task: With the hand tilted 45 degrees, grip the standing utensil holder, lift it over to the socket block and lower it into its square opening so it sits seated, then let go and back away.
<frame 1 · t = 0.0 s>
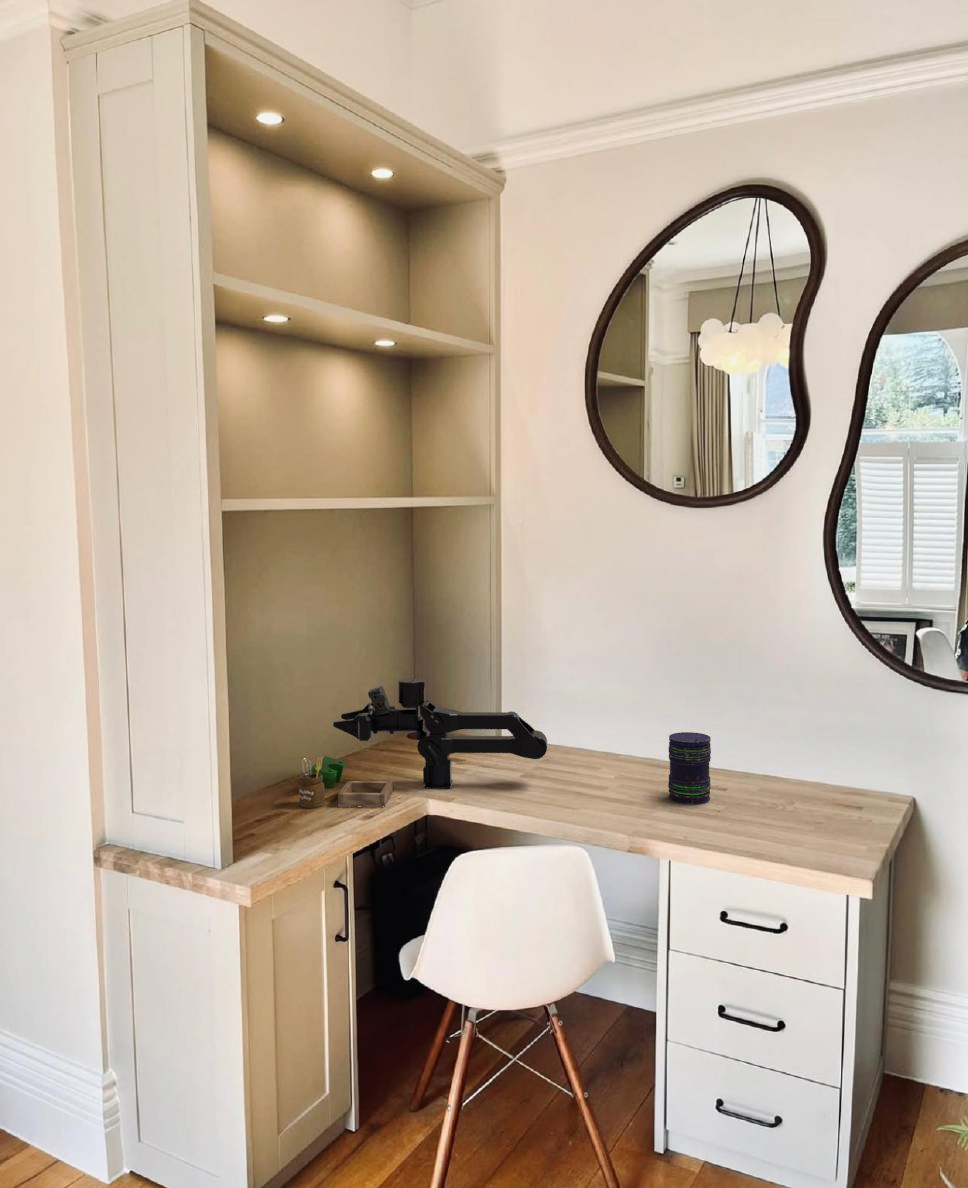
hand: (337, 720, 252), 17 cm above the table, tool horizontal, fingers open, 9 cm apart
socket block: (366, 801, 240), on the table
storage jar: (689, 799, 238), on the table
utensil holder: (312, 805, 237), on the table
clamp: (327, 785, 254), on the table
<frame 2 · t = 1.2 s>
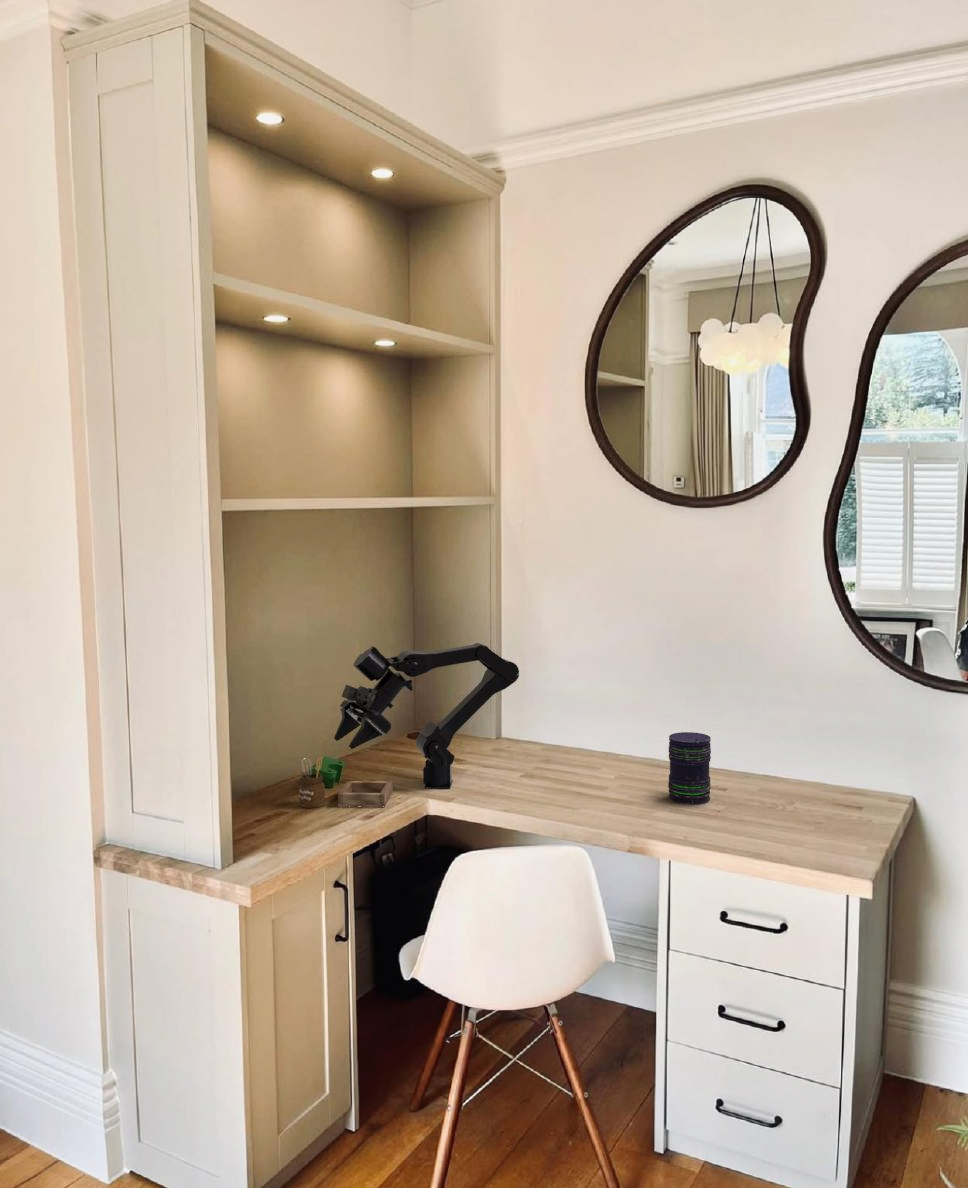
hand: (342, 743, 240), 14 cm above the table, tool tilted 45°, fingers open, 9 cm apart
nothing on the table moved.
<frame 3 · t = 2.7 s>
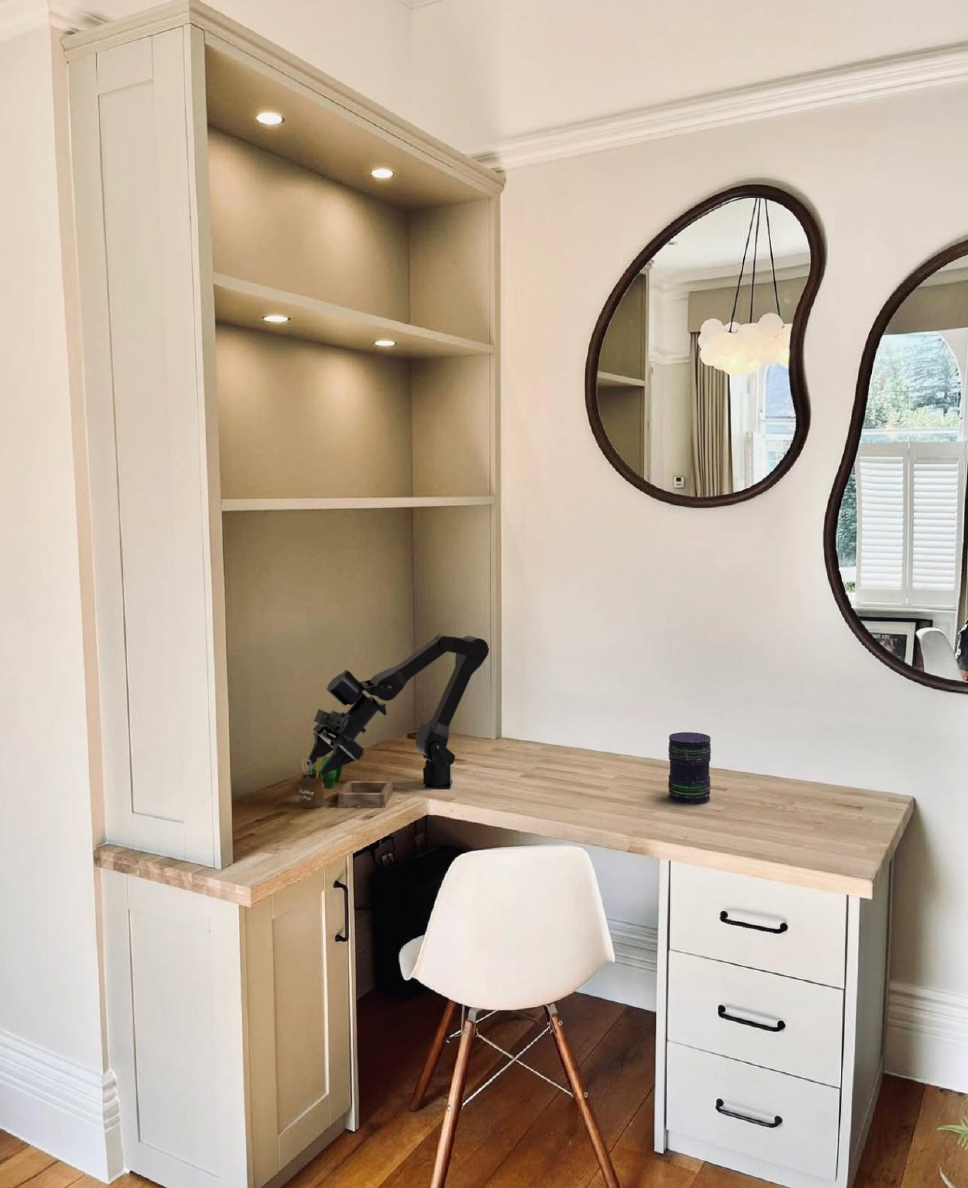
hand: (314, 769, 236), 9 cm above the table, tool tilted 45°, fingers open, 9 cm apart
nothing on the table moved.
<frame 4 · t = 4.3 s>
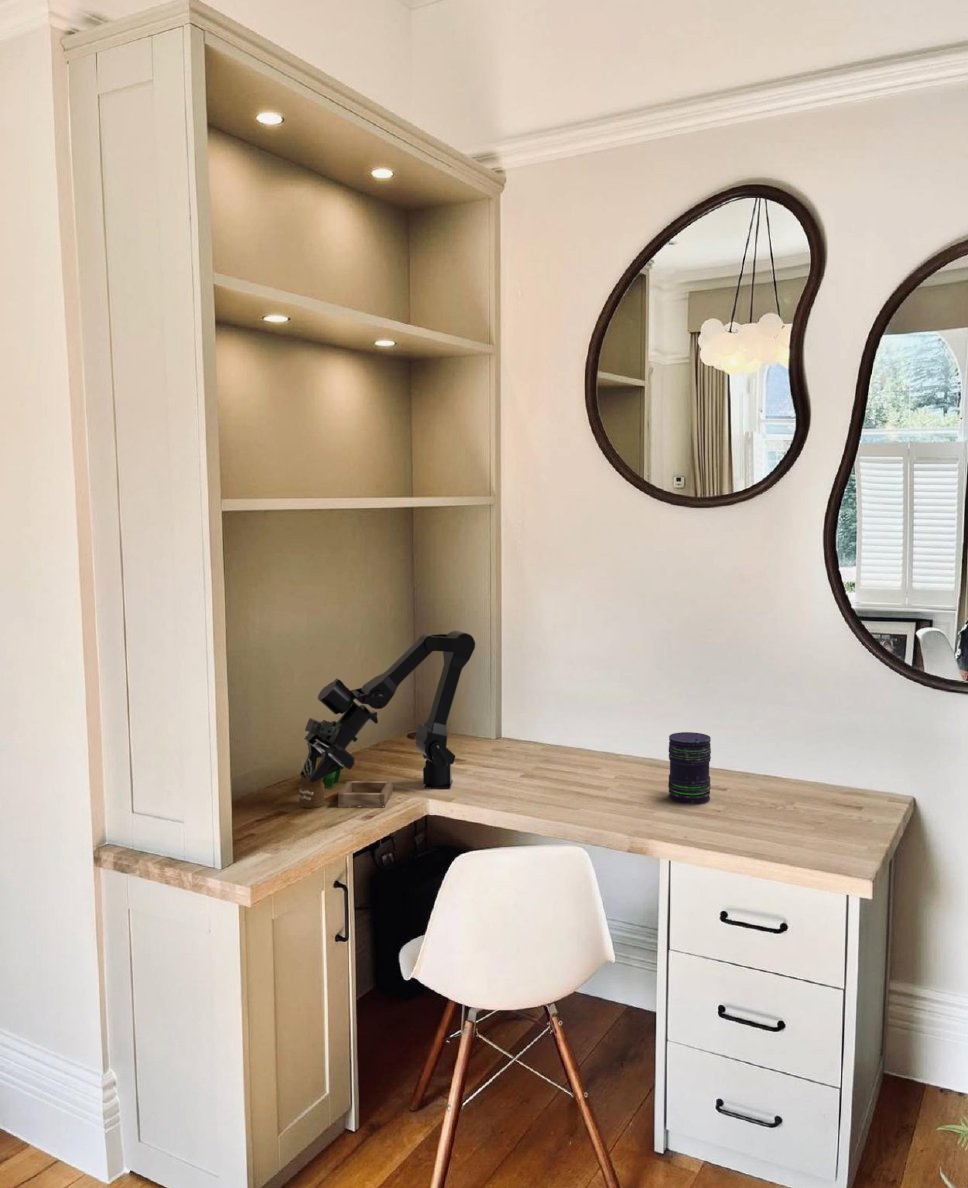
hand: (306, 778, 236), 7 cm above the table, tool tilted 45°, fingers closed on utensil holder, 5 cm apart
utensil holder: (312, 805, 237), on the table, touching gripper
everything else where it was.
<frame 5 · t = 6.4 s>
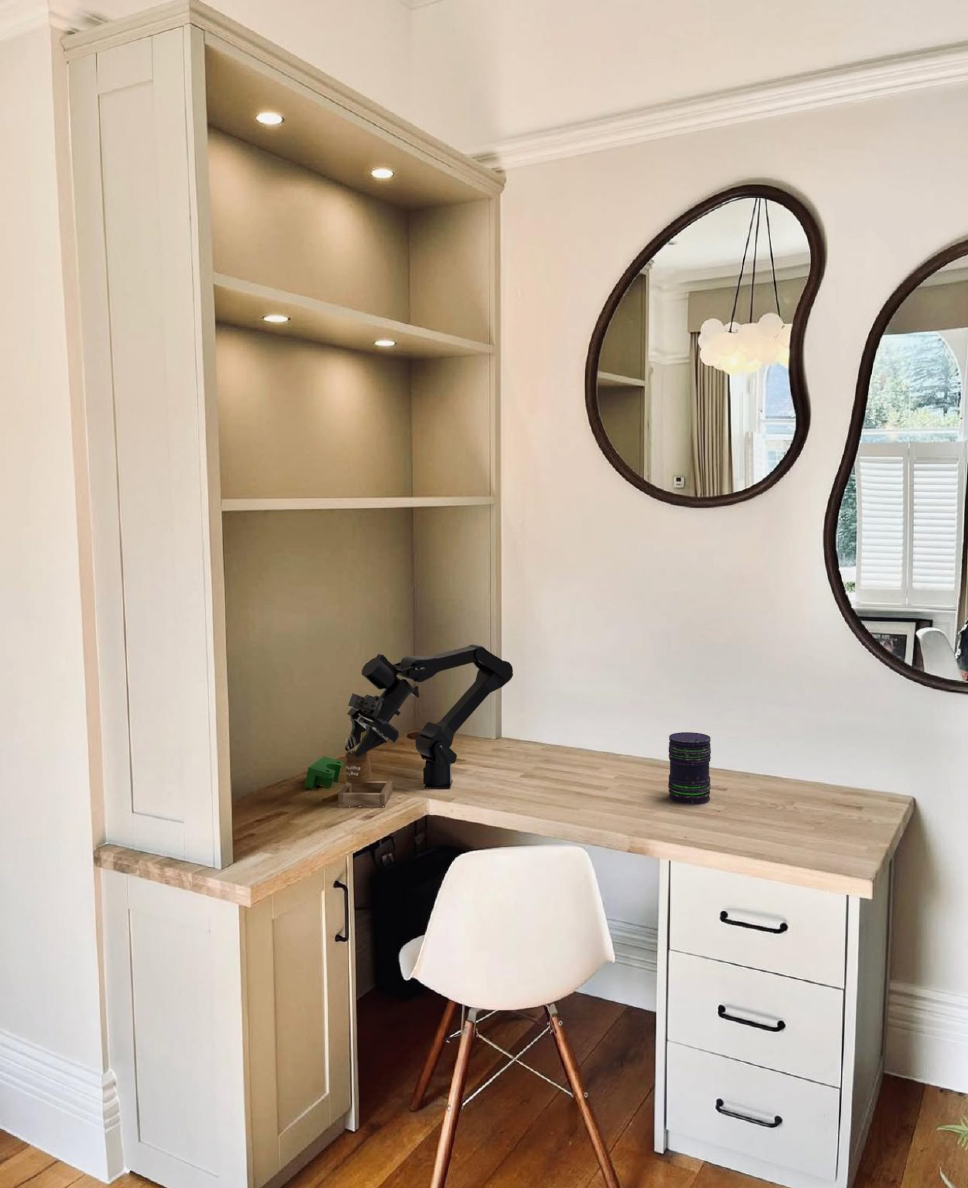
hand: (350, 752, 238), 12 cm above the table, tool tilted 45°, fingers closed on utensil holder, 5 cm apart
utensil holder: (359, 781, 239), point 5 cm above the table, touching gripper
everything else where it was.
when the fingers open (8 cm above the table, at t = 8.7 s): utensil holder stays where it is, resting on socket block.
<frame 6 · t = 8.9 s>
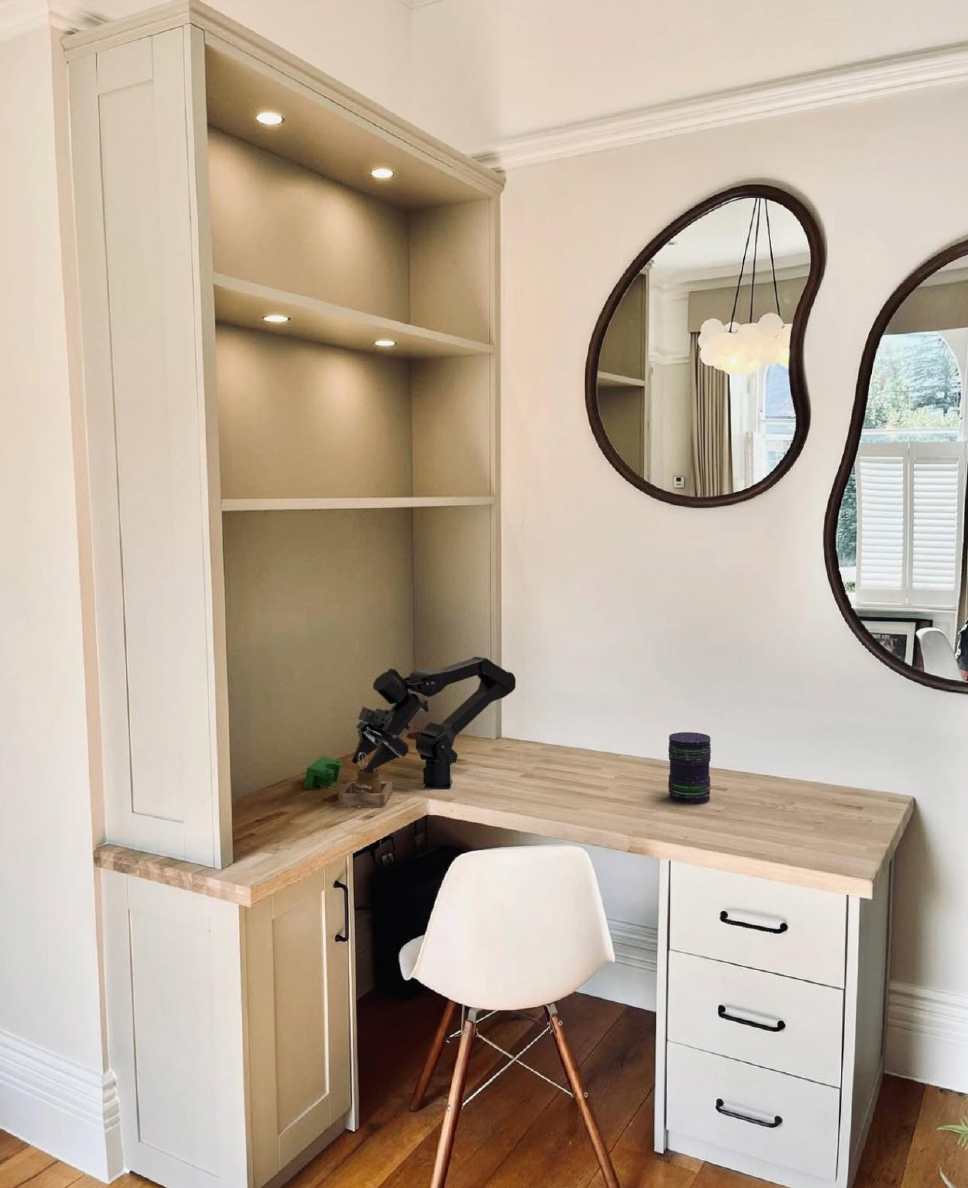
hand: (359, 766, 238), 9 cm above the table, tool tilted 45°, fingers open, 8 cm apart
socket block: (366, 802, 240), on the table, touching utensil holder
utensil holder: (369, 799, 239), resting on socket block, touching gripper
everything else where it was.
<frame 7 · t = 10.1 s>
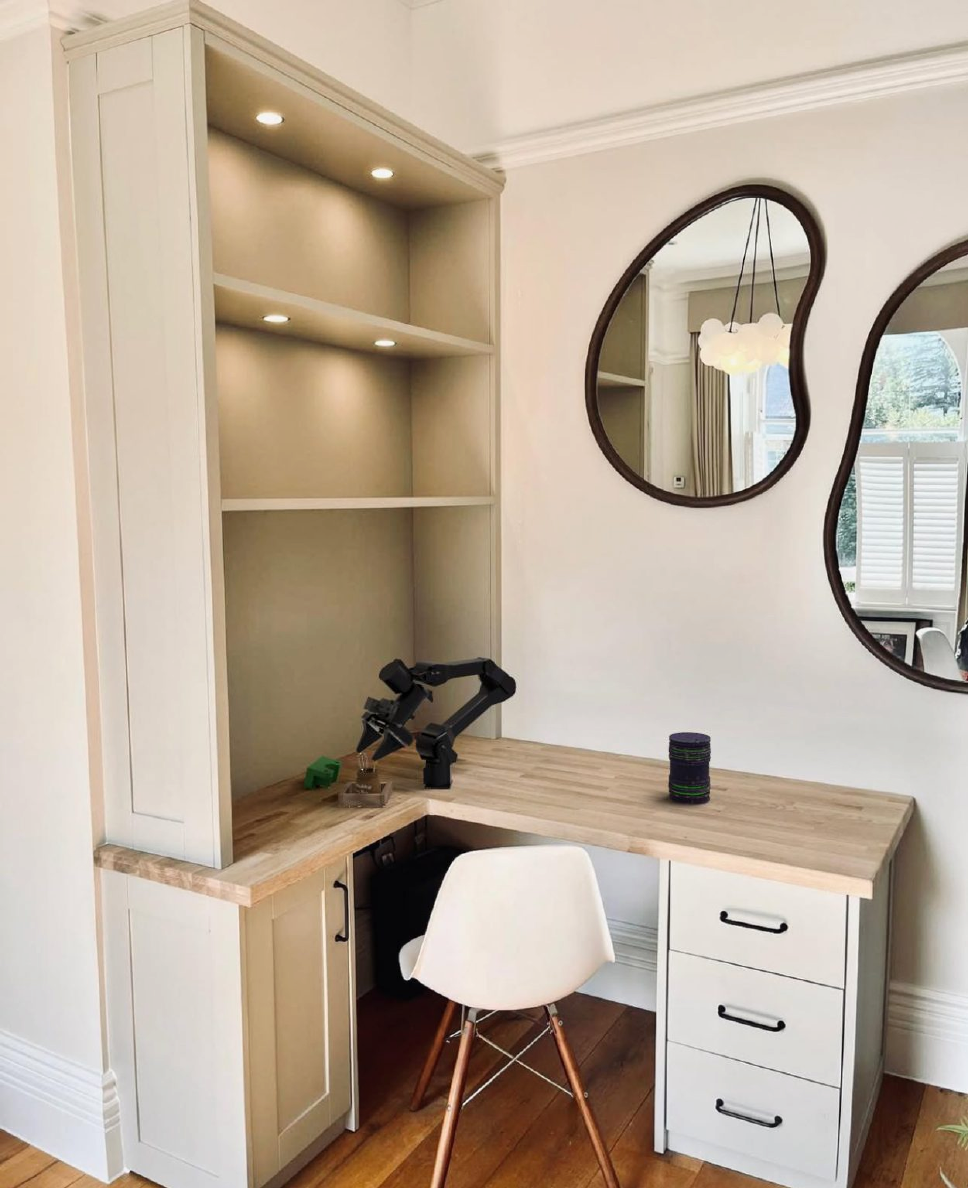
hand: (365, 755, 239), 11 cm above the table, tool tilted 45°, fingers open, 9 cm apart
utensil holder: (368, 799, 239), resting on socket block
everything else where it was.
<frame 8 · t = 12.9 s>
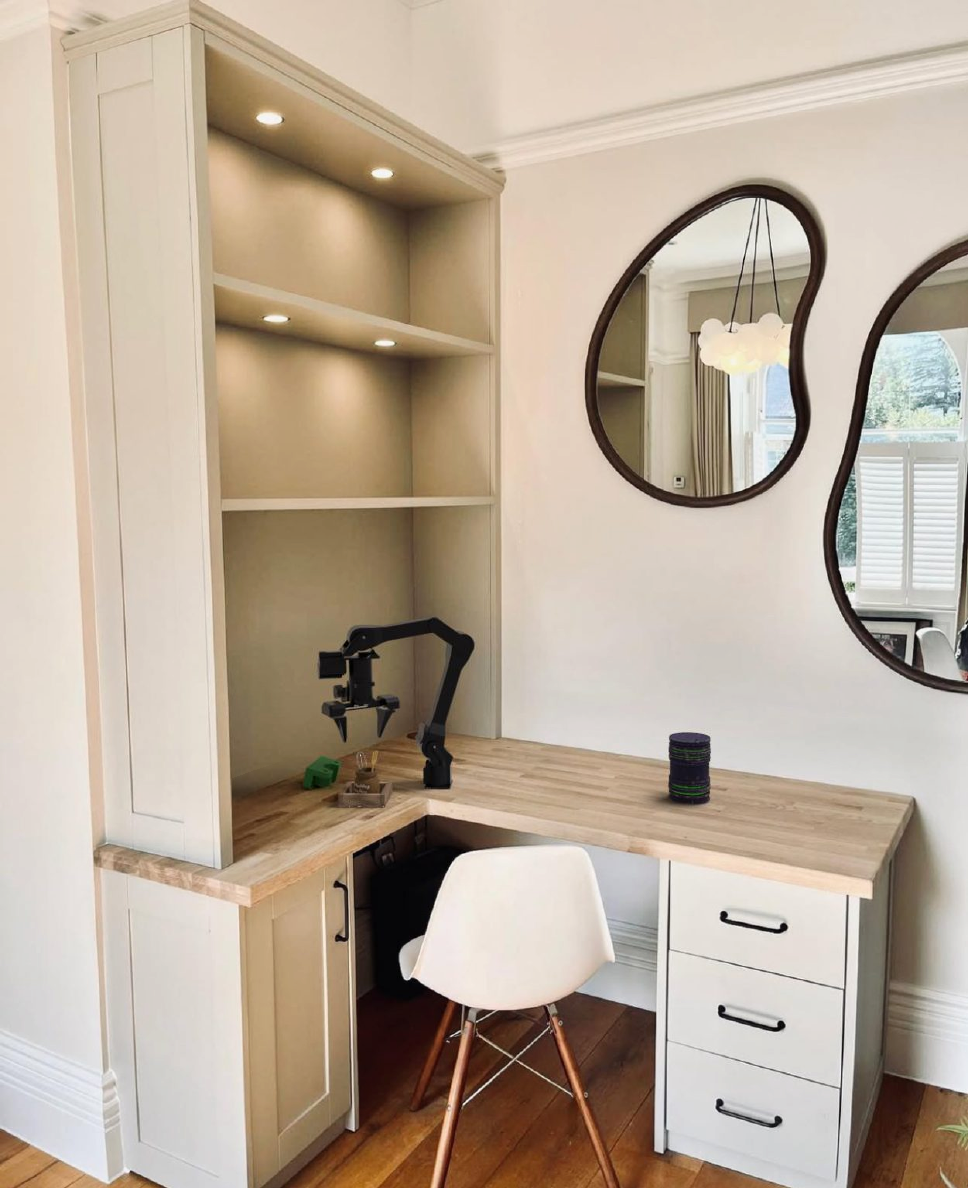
hand: (362, 739, 246), 13 cm above the table, tool pointing down, fingers open, 9 cm apart
at the end: utensil holder 0.6 cm off-centre on the socket block, point 0.8 cm above the socket block's base; utensil holder tilted 0°; the gripper is holding nothing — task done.
